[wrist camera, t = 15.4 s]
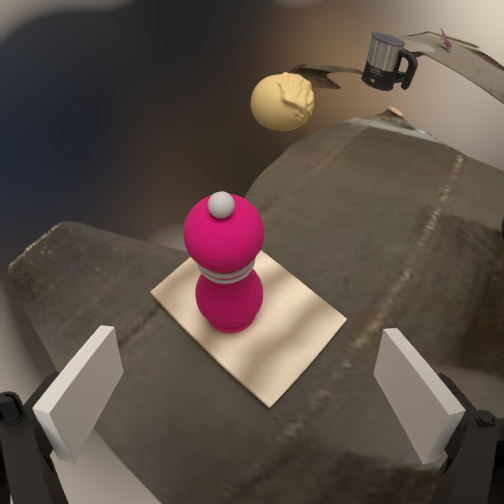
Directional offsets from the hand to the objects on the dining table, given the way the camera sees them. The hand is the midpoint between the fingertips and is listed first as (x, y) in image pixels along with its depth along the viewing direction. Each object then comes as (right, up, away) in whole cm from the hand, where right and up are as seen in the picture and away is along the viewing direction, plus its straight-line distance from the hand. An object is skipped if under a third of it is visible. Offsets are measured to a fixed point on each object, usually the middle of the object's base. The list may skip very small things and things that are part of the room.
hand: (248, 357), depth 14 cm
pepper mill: (-2, -2, +23) cm, 23 cm away
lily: (+91, +101, +89) cm, 163 cm away
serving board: (0, -3, +25) cm, 25 cm away
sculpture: (+6, +31, +45) cm, 55 cm away
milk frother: (+38, +53, +59) cm, 88 cm away
